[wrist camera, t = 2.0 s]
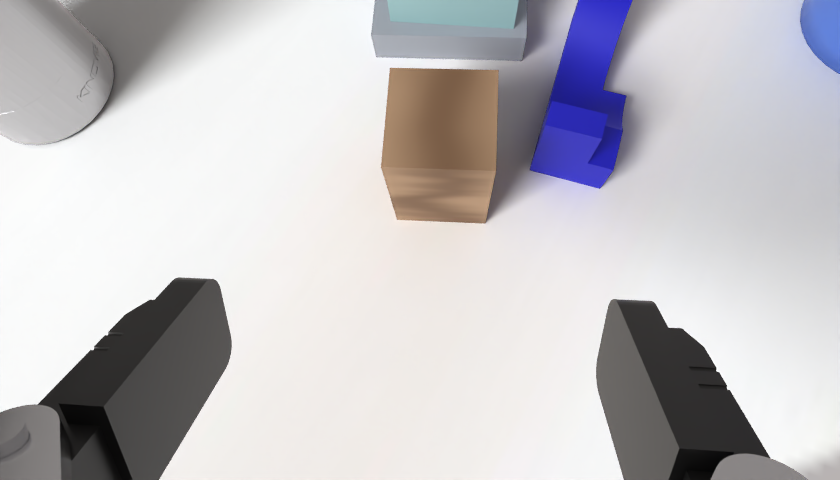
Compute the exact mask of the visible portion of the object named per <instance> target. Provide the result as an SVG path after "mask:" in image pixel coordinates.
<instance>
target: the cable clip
mask: <svg viewBox="0 0 840 480" xmlns="http://www.w3.org/2000/svg"><path fill="white" fill-rule="evenodd" d="M631 3H632V0H578V3H577V6H576V9H575V12H574V15H573V18H572V22H571V25H570V29H569V32H568V36H567V39H566V43H565V46H564V50H563V53H562V57H561V61H560V64H559V68H558V71H557V75H556V78H555V82H554V85H553V89H552V92H551V96H550V99H549V103H548V106H547V110H546V114H545V117H544V121H543V124H542V128H541V131H540V135H539V138H538V142H537V145H536V149H535V152H534V156H533V159H532V163H531V166H530V170H531V171H535V172H539V173H543V174H547V175H550V176H554V177H558V178H562V179H566V180H569V181H573V182H577V183H581V184H584V185H588V186H592V187H596V188H601V187H602V185H603V184H604V182H605V181H606V180H607V178H608V177H609V176H610V174H611V173H612V171H613V170H614V166H615V162H616V158H617V153H618V149H619V145H620V141H621V136H622V132H623V128H622V116H623V109H624V104H625V99H626V95H622V94H617V93H613V92H609V91H605V90H603V86H604V83H605V79H606V76H607V72H608V69H609V65H610V62H611V59H612V56H613V53H614V50H615V47H616V44H617V41H618V38H619V35H620V32H621V29H622V26H623V24H624V21H625V18H626V16H627V13H628V10H629V8H630V5H631Z"/></svg>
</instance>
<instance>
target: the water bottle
mask: <svg viewBox="0 0 840 480" xmlns="http://www.w3.org/2000/svg"><path fill="white" fill-rule="evenodd" d="M800 22H801V27H802V33H803V35H804V37H805V39H806V42H807V44H808V45H809V47H810V48H811V50H812V51H813V52H814V54H815V55H816V56H817V57H818V58H819V59H820V60H821V61H822V62H823V63H824V64H825V65H827V66H828V67H830V68H831V69H832V70H834V71H835V72H837V73H839V74H840V0H804V3H803V6H802V9H801V18H800Z"/></svg>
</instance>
